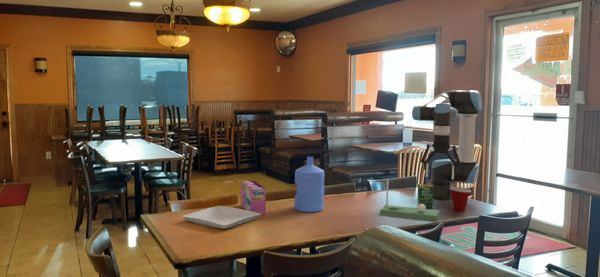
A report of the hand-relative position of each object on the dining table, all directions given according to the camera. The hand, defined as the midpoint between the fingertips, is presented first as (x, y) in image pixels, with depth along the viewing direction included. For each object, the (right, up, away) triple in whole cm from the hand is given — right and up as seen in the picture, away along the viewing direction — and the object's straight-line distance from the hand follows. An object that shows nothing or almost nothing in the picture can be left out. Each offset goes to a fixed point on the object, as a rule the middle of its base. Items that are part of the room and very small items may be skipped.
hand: (439, 177), depth 235 cm
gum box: (-94, -18, +13) cm, 97 cm away
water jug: (-65, -18, +16) cm, 69 cm away
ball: (-8, -16, +4) cm, 18 cm away
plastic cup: (+17, -19, +20) cm, 32 cm away
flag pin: (-24, -16, +16) cm, 33 cm away
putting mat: (-13, -20, +8) cm, 25 cm away
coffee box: (-1, -19, +24) cm, 30 cm away
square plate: (-107, -20, -9) cm, 109 cm away
